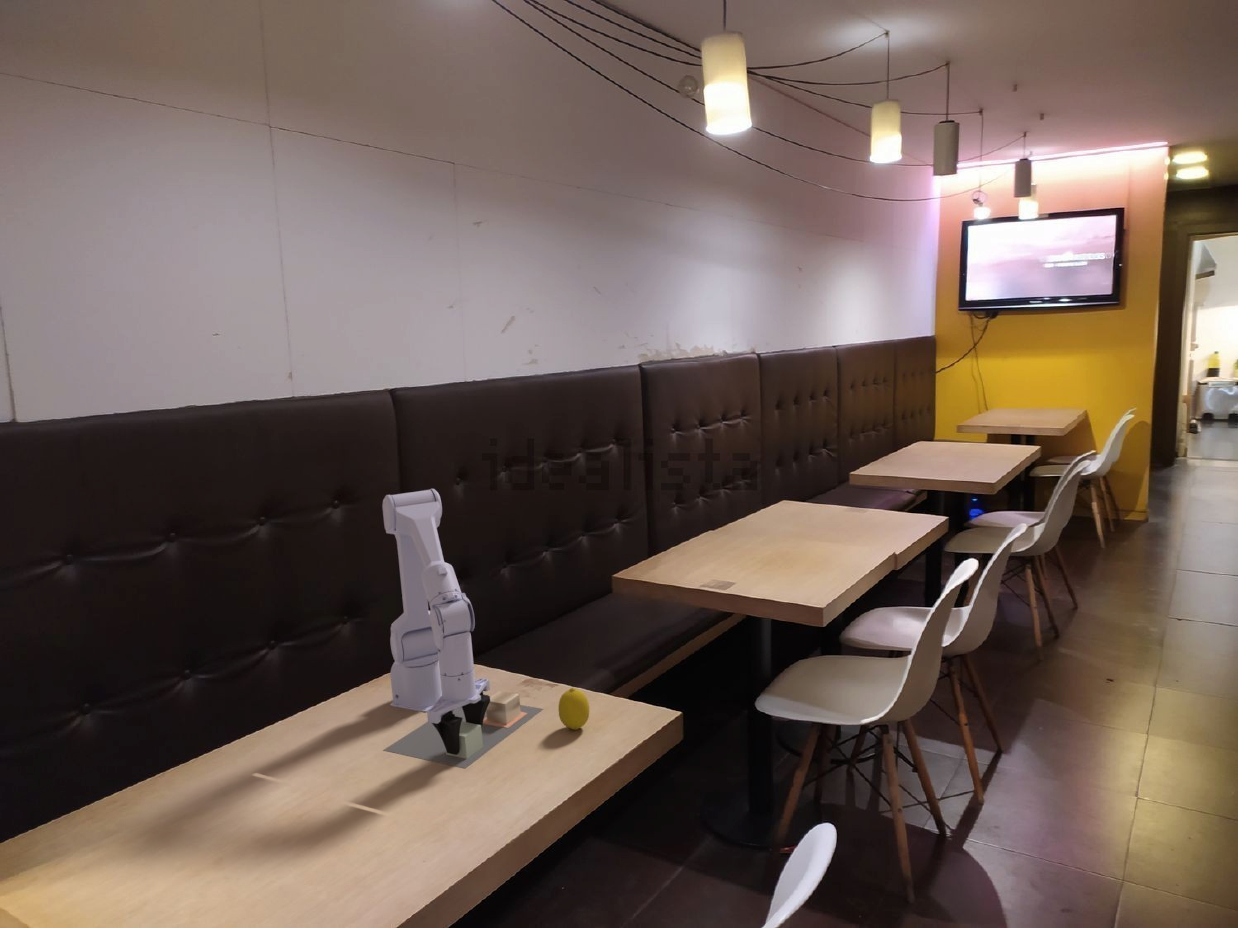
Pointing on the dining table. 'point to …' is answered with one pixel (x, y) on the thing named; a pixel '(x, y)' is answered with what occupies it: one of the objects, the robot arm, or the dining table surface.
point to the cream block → (503, 707)
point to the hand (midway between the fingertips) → (464, 744)
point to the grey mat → (432, 748)
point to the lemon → (573, 709)
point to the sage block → (469, 740)
